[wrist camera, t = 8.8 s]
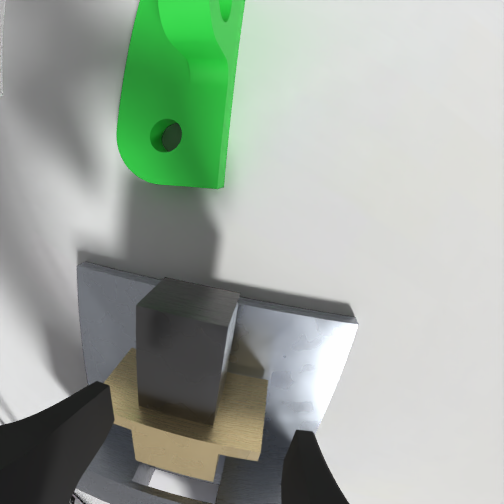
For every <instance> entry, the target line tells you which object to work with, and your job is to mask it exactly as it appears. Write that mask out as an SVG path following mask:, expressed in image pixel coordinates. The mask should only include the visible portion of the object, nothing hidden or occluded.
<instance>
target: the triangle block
mask: <svg viewBox="0 0 504 504" xmlns="http://www.w3.org/2000/svg"><path fill="white" fill-rule="evenodd" d="M5 3H6V0H0V96H3V79H2V44H3V25H4V13H5Z"/></svg>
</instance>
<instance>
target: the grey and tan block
mask: <svg viewBox="0 0 504 504" xmlns="http://www.w3.org/2000/svg"><path fill="white" fill-rule="evenodd" d="M239 298H240V293H238V292H233V291H228V290H223V289H218V288H213V287H208V286H203V285H199V284H194V283H189V282H185V281H180V280H175V279H171V278H166V277H165V278H164V279H163V280H161V281H160V282H159V283H158V284H157V285H156V286H155V287H154V288H153V289H152V290H151V291H150V292H149V293H148V294H147V295H146V296H145V297H144V298H143V299H142V300H141V301H140V302H139V303H138V304H137V305H136V349H135V348H131V349H130V350H129V352H128V353H127V354H126V355H125V357H124V358H123V359H122V360H121V362H120V363H119V364H118V365H117V367H116V368H115V369H114V370H113V372H112V373H111V374H110V375H109V377H108V378H107V379H106V380H105V382H104V384H107V385H110V392H111V399H112V406H113V412H114V418H115V420H114V424H117V425H119V426H122V427H125V428H128V429H130V430H131V431H132V438H133V445H134V452H135V459H136V460H137V461H139V462H142V463H145V464H148V465H151V466H155V467H158V468H161V469H164V470H168V471H171V472H175V473H178V474H182V475H186V476H190V477H194V478H198V479H202V480H207V481H211V482H213V481H214V477H215V473H216V469H217V464H218V460H219V456H220V455H225V456H230V457H235V458H241V459H247V460H253V461H258V459H259V456H260V453H261V445H262V436H263V426H264V417H265V407H266V397H267V387H268V380H266V379H260V378H254V377H249V376H244V375H239V374H234V373H229V372H227V370H228V364H229V358H230V352H231V346H232V340H233V334H234V328H235V322H236V316H237V310H238V304H239Z"/></svg>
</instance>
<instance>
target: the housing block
mask: <svg viewBox="0 0 504 504" xmlns="http://www.w3.org/2000/svg"><path fill="white" fill-rule="evenodd" d="M160 281H161V280H159V279H154V278H150V277H146V276H141V275H137V274H133V273H129V272H125V271H121V270H116V269H112V268H108V267H104V266H100V265H96V264H92V263H88V262H83V263H81V264H80V265H78V266H77V283H78V302H79V316H80V327H81V337H82V346H83V354H84V361H85V368H86V375H87V381H88V385H90V384H92V383H94V382H95V381H99V382H101V383H104V382H105V380H106V379H107V378H108V377H109V375H110V374H111V373H112V372H113V370H114V369H115V368H116V367H117V365H118V364H119V363H120V362H121V360H122V359H123V358H124V357H125V355H126V354H127V353H128V352H129V350H130V349H131V348H135V349H136V305H137V304H138V303H139V302H140V301H141V300H142V299H143V298H144V297H145V296H146V295H147V294H148V293H149V292H150V291H151V290H152V289H153V288H154V287H155V286H156V285H157V284H158V283H159V282H160ZM357 328H358V322H357V320H356V318H355V317H351V316H345V315H338V314H332V313H326V312H320V311H314V310H309V309H303V308H297V307H292V306H286V305H281V304H275V303H270V302H264V301H259V300H254V299H249V298H244V297H240V298H239V304H238V310H237V316H236V322H235V328H234V334H233V340H232V346H231V352H230V358H229V364H228V370H227V372H229V373H234V374H239V375H244V376H249V377H254V378H260V379H266V380H268V387H267V397H266V407H265V417H264V426H263V436H262V445H261V453H260V456H259V459H258V461H253V460H247V459H241V458H235V457H230V456H225V455H220V456H219V460H218V464H217V469H216V473H215V477H214V481H213V482H211V481H207V480H202V479H198V478H194V477H190V476H186V475H182V474H178V473H175V472H171V471H168V470H164V469H161V468H158V467H155V466H151V465H148V464H145V463H142V462H139V461H137V460H136V459H135V452H134V445H133V438H132V431H131V430H130V429H128V428H125V427H122V426H119V425H117V424H114V423H113V425H112V427H111V429H110V432H109V434H108V436H107V438H106V440H105V441H104V443H103V444H102V446H101V448H100V449H99V451H98V452H97V454H96V455H95V457H94V458H93V460H92V461H91V463H90V464H89V466H88V468H87V469H86V471H85V472H84V474H83V475H82V477H81V479H80V480H79V482H78V484H77V486H76V488H77V489H79V490H81V491H83V492H85V493H87V494H89V495H92V496H94V497H96V498H98V499H101V500H103V501H105V502H108V503H110V504H212V503H207V502H203V501H198V500H194V499H190V498H186V497H182V496H179V495H175V494H171V493H168V492H164V491H161V490H158V489H155V488H152V487H148V485H149V482H150V480H151V477H152V475H153V473H154V470H155V468H156V469H159V470H162V471H166V472H169V473H173V474H176V475H180V476H184V477H187V478H191V479H195V480H200V481H204V482H208V483H213V484H218V485H219V489H218V494H217V498H216V503H215V504H281V479H282V470H283V461H284V458H285V456H286V453H287V451H288V449H289V446H290V444H291V441H292V439H293V436H294V434H295V431H296V430H305V431H313V433H314V434H315V433H316V431H317V429H318V427H319V425H320V422H321V420H322V418H323V416H324V413H325V411H326V409H327V406H328V404H329V402H330V399H331V397H332V394H333V392H334V390H335V387H336V385H337V382H338V380H339V377H340V375H341V372H342V369H343V367H344V364H345V361H346V359H347V356H348V353H349V351H350V348H351V345H352V342H353V339H354V336H355V334H356V331H357Z"/></svg>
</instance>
